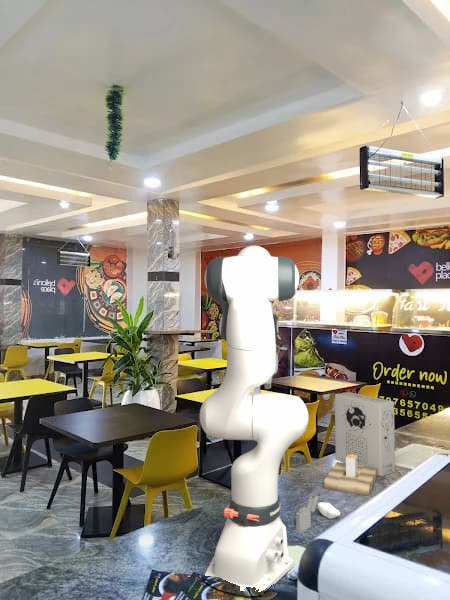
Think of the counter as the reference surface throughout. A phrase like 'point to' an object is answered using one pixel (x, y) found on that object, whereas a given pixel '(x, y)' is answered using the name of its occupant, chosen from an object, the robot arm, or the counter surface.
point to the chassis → (351, 479)
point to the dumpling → (328, 510)
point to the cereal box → (365, 431)
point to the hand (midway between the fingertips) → (262, 391)
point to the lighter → (306, 514)
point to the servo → (351, 465)
